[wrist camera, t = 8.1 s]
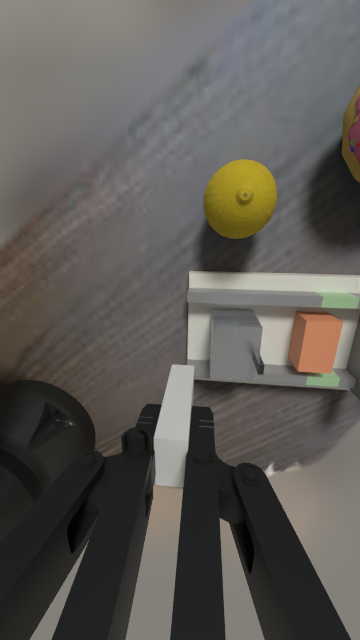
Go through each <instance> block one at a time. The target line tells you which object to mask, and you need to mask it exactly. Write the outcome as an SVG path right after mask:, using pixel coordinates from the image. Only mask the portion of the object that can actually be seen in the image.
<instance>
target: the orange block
mask: <svg viewBox="0 0 360 640" xmlns="http://www.w3.org/2000/svg"><path fill="white" fill-rule="evenodd" d="M342 326H343V322H342V321H340V320H339V319H337V318H336V317H334V316H333V315H331V314H330V313H328V312H305V311H296V313H295V319H294V325H293V331H292V337H291V343H290V350H289V356H288V357H289V359H290V360H291V362H292V363H293V365H294V367H295V368H296V370H297V371H298V372H314V373H330V374H331V373H332V369H333V365H334V360H335V356H336V352H337V347H338V343H339V339H340V334H341V330H342Z"/></svg>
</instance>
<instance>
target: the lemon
mask: <svg viewBox="0 0 360 640" xmlns="http://www.w3.org/2000/svg"><path fill="white" fill-rule="evenodd" d="M276 202H277V187H276V183H275V180H274V178H273V176H272V174H271V173H270V171H269V170H268V169H267V168H266V167H265V166H264V165H262V164H260V163H258V162H256V161H252V160H248V159H245V160H236V161H233V162H230V163H228V164H226V165H225V166H223V167H222V168H220V169H219V170H218V171H217V172H216V173H215V174H214V175H213V177H212V178H211V180H210V181H209V183H208V185H207V187H206V191H205V195H204V205H203V207H204V212H205V216H206V218H207V221H208V223H209V224H210V226H211V227H212V228H213V229H214V230H215V231H216V232H217V233H219V234H220V235H222V236H225V237H227V238H232V239H241V238H246V237H249V236H251V235H253V234H255V233H257V232H258V231H259V230H261V229H262V228H263V227H264V226H265V225H266V224H267V222H268V221H269V220H270V218H271V216H272V214H273V212H274V210H275V206H276Z"/></svg>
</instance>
